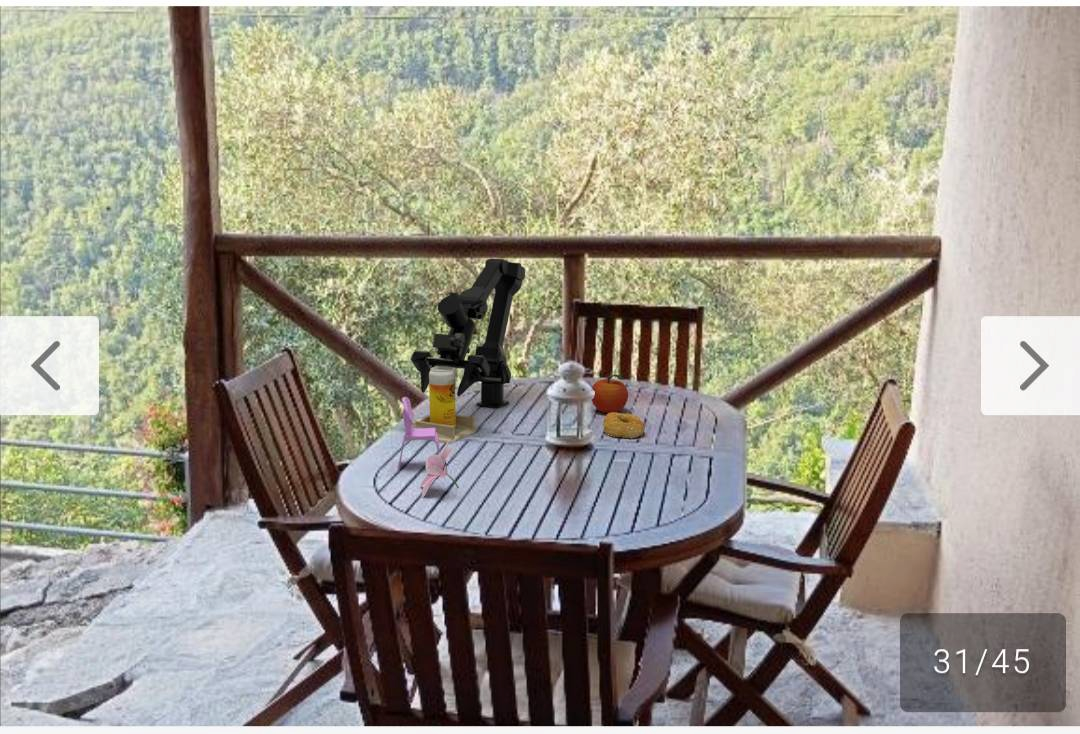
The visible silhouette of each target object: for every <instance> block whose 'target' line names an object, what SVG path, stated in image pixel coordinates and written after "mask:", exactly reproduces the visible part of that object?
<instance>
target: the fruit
mask: <svg viewBox="0 0 1080 734" xmlns="http://www.w3.org/2000/svg"><path fill="white" fill-rule="evenodd" d="M613 377H614V378H618V379H619V380H617V379H611V378H613ZM622 378H623V377H622V376H621V374H617V373H616V374H615V373H614V374H612V375H610V376H608V375H607V377H606V378H605V379H598V380H597V381H595V383H594V384H593V386H592V387H591V390H592V389H593V390H594V391H595V396H594V398H593V399H591V402H592V404H593V406H594V408H595V409H596V410H597V411H599V412H600V411H601V413H603V414H608V413H611V412H613V413H614V412H615V413H620V411H622V410H624V408H625V406H626V404H627V402H628V399H629V391H628V390H629V389H628V388H627V385H625V383H624V382H623V381H621V380H622Z"/></svg>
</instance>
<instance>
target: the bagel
mask: <svg viewBox="0 0 1080 734" xmlns="http://www.w3.org/2000/svg"><path fill="white" fill-rule="evenodd" d="M602 426H603V430H604V432H603V433H605V434H606V435H607V434H609V435H612V436H615V437H614V438H618V437H619V438H621V437H623V438H622V439H629V438H634V439H635V438H638V437H640V436H643V434H644V430H645V427H646V424H645V423H644V422H643V421H642V420H641V419H640V418H639V417H638V416H637V415H636V414H631V413H622V412H617V413H615V412H614V413H613V412H611V413H606V415H605V417H604V418H603V423H602ZM609 435H608V436H609ZM612 436H611V437H612Z"/></svg>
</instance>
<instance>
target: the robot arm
mask: <svg viewBox="0 0 1080 734" xmlns="http://www.w3.org/2000/svg"><path fill="white" fill-rule="evenodd" d="M484 264H485V265H484V267H483V269H482V270H481V272H480V273H479V275H478V276H477V278H476V279H475V281H474V282H473V283H472V285H471V287H469V288H468V289H465V290H463V291H461V293H459V292H450V293H449V295H447V296H445V297H444V298H442V299H441V300H440V301H438V304H437V311H438V312H439V315H440V317H441V318H442V319H443V321H444V323H445V325H446V326H447V327H448V328H450V329H449V332H448V333H447V334H446V333H434V334H433V335H434V336H433V341H432V348H433V349H437V351H436V354H437V355H438V356H440V357H434V356H432V354H431V353H430V351H428V350H427V351H425V350H415V351H413V352H412V354H411V356H410V360H411V362H412V364H413V365H414V367H415V369H416V370H417V371H418V372H419V373H420V391H421V393H422V394H425V393H426V391H427V389H428V387H429V372H430V370H431V368H433V367H438V366H447V367H452V368H453V369H463V374H462V377H461V380H460V383H459V386H458V388H457V390H456V391H457V392H456V395H457V397H461V396H462V395H463V394H464V393H465V392H466V391H467V390H468V389H469V388H470V387H472V385H474V384H475V383H477V382H478V383H479V382H480V387H481V388H480V401H478V402H476V403H475V404H476V406H482V407H488V408H489V407H490V408H500V407H502V406H504V405H506V404H509V403H510V402H509V400H505V395H504V394H505V392H504V391H505V389H504V387H505V386H504V385H505V384H510V383H511V378H512V372H511V369H510V368H509V366H508V364H507V356H506V353H505V351H504V342H505V337H506V332H507V328H508V323H509V317H510V312H511V307H512V302H513V298H514V296H515V295H516V294H517V293H518V291H520V290H521V287H522V285H523V281H524V280H525V277H526V268H525V267H524V266H522V264H521V263H520V262H511V261H508V260H506V259H504V258H494V257H493V258H488V259H486V260H485V263H484ZM493 291H495V293H494V296H493V301H492V305H491V310H490V311H491V312H490V315H489V321H488V325H487V330H486V331H487V332H486V335H485V340H484V343H483V344H482V345H477V346H476V348H475V351H474V352H475V354H470V353H471V349H470V344H471V341H472V339H473V336H474V335H477V334H478V331H477V326H476V324H475V322H474V320H483V318H484V317H485V315H486V314H487V312H488V308H489V306H488V299H489V297H490V295H491V294H492V292H493ZM467 354H468V356H467ZM466 356H467V360H466Z"/></svg>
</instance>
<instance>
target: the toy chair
mask: <svg viewBox="0 0 1080 734" xmlns="http://www.w3.org/2000/svg"><path fill="white" fill-rule="evenodd" d="M401 400H402V404H403V409H402V417H403V425H404V431H405V432H404V434H403V438H402V443H401V450H400V456H399V461H398V465H397V470H398V471H399V470H400V468H401V463H402V462H401V461H402V457H403V452H404V445H405V443H407V442H409V441H410V442H411V441H432V442H434V443H435V445H436V450H437V454H436V455H438V456H439V455H440V442H439V438H438V434H437V433H436V428H423V429H416V428H411V425H412V424H413V421H414V417H415V415H414V411H413V408H412V404H411V400H410V398H409V397H407V396H404V397H402V398H401Z"/></svg>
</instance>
